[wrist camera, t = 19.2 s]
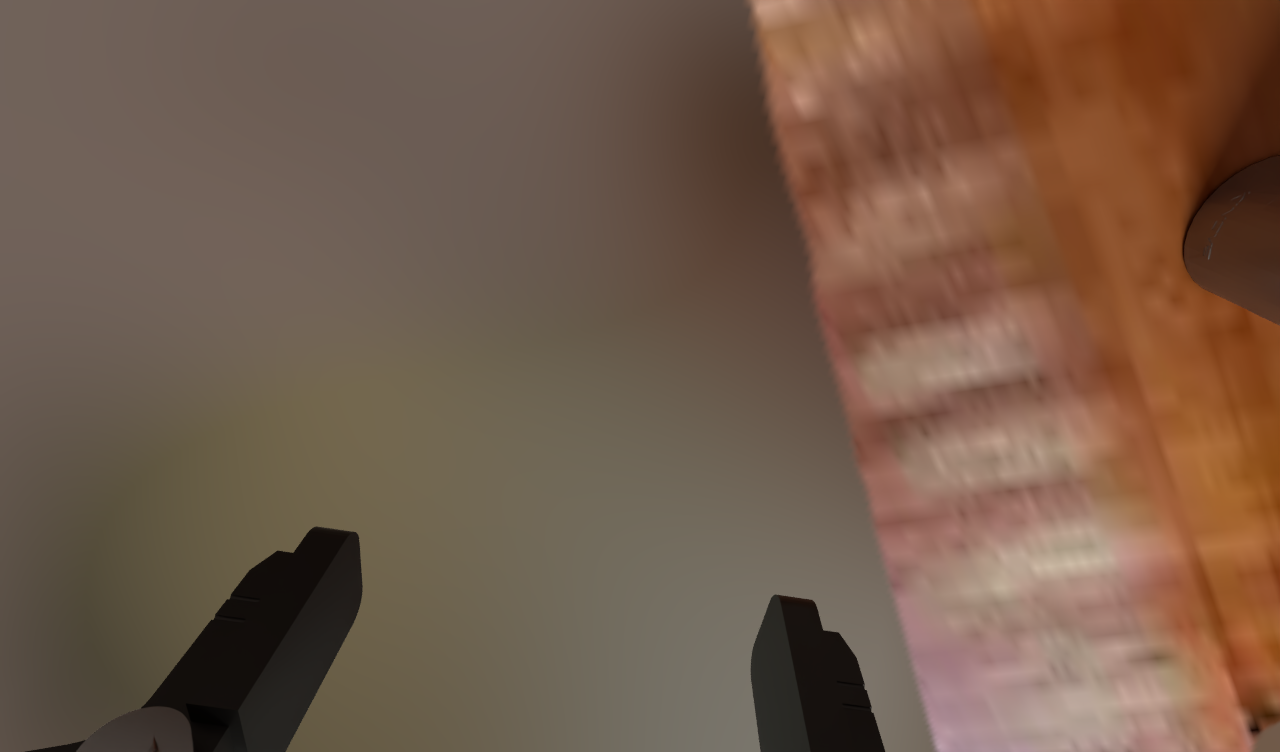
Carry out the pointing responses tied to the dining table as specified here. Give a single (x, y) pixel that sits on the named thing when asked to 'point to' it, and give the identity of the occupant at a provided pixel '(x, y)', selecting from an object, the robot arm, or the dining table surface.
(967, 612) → the dining table surface
